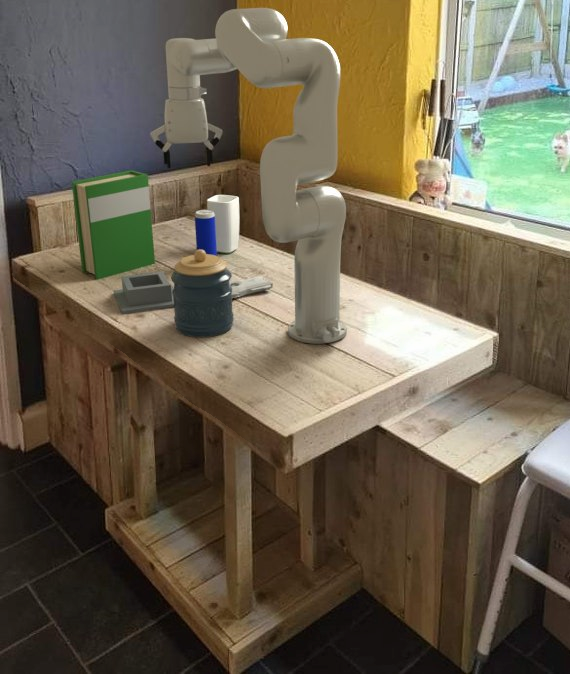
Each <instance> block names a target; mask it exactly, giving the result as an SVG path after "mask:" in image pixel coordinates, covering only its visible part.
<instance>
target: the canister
mask: <svg viewBox="0 0 570 674" xmlns="http://www.w3.org/2000/svg"><path fill="white" fill-rule="evenodd" d="M173 268H174V270H175V272H173V273H172V275H170V276H171V277H170V280H171V281H172V282H173V288H174V289H173V291H172V294H173V299H174V307H173V309H174V310H173V311H174V312H173V313H174V317H173V320H174V321H173V323H174V325H175V329H176V331H178V333H180V334H183V335H185V336H187V337H188V336H189V337H195V338H196V337H197V338H207V337H215V336H219V335H222V334H224V333H226V332H228V331H229V330H231V329H232V327H233V324H234V312H233V299H232V287H231V286H230V282H229V281H231V279H232V276H233V275H232V271H230V270H229V269H227V268H228V262H227V261H225V260H224V259H222V258H220V257H219V256H218V255H217V256H215V255H210V254H206V252H205V251H204V250H201V249H199V250H197V249H196V250H195V252H194V254H192V255H188V256H185V257H183V258H181V259H180V260H178V262H177V263H175V264H174V267H173Z"/></svg>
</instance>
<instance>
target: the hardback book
mask: <svg viewBox="0 0 570 674" xmlns="http://www.w3.org/2000/svg"><path fill="white" fill-rule="evenodd" d="M71 188H72V199H73V205H74V213H75V214H74V215H75V221H76V222H75V224H76V229H77V237H78V238H77V239H78V246H79V255H80V262H81V263H80V264H81V271H82V274H89V273H91V274H92V275H94V278H95V280H96V281H99V280H101V279H105V278H109V277H113V276H116V275H120V274H123V273H128V272H130V271H134V270H138V269H141V267H142V268H145V267H149V266H151V265H152V264H153V265H155V264H156V257H155V246H154V237H153V236H154V234H153V222H152V221H153V220H152V211H151V210H152V208H151V197H150V185H149V175H148V174H147V173H143V172H140V171H136V170H133V169H132V170H131V169H130V170H126V171H120V172H115V173H111V174H104V175H101V176H94V177H90V178H84V179H79V180H74V181H71Z"/></svg>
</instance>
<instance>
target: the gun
mask: <svg viewBox="0 0 570 674" xmlns="http://www.w3.org/2000/svg"><path fill="white" fill-rule="evenodd" d="M229 282H230V286H231V287H232V300H234V299H237V297H239V298H242V297H244V296H247V295H252V294H256V293H260V292H263V291H267V290H271V289H272V288H274V286H273V285H274V284H273V282H270V281H269V280H266V279H265V276H264V275H263V276H262V275H258V276H255V277H254V276H253V277H250V278H246V279H242V280H240V279H239V280H238V279H232V280H231V279H230V280H229ZM241 296H242V297H241ZM233 298H234V299H233Z"/></svg>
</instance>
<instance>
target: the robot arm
mask: <svg viewBox="0 0 570 674" xmlns="http://www.w3.org/2000/svg"><path fill="white" fill-rule="evenodd" d="M214 34H215V38H206V39H205V38H203V39H194V38H188V37H179V38H178V37H177V38H170V39H168V40H167V41H166V42H165V58H166V59H165V61H166V73H167V74H166V75H167V77H166V78H167V90H168V99H165V104H164V124H163V125H161V126H159V127H158V128H156V129H155V130H152V131H151V132H150V137H151V139H152V140H153V142H154V143H155V145H156V146H157V147H158V148H159V149H160V150H162V152H163V154H162V155H163V165H166V167H167V169H171V167H172V166H171V156H170V155H171V153H170V147H171V146H172V145H173V144H174V145H175V144H192V143H193V144H194V143H195V144H196V143H203V144H204V145H205V146H206V147H205V149H204V150H205V164H206V166H207V167H211V163H213V161H214V160H213V150H214V147H216V145H218V143H220V139H221V137H222V136H223V131H224V130H223V129H222V128H220V127H218V126H215V125H213V124H211V123H209V122H208V118H207V117H208V116H207V110H206V103H205V100H204V98H202V95H207V87H202V86H201V77H200V76H203V75H212V74H214V75H215V74H224V73H229V72H232V71H235V70H238V71H239V72H240V73H241V74H242V75H243V77H245V79H246V80H248V82H250V83H251V85H254V86H255V87H257V88H261V89H272V88H279V87H281V88H282V87H288V86H297V85H302V86H303V87H302V89H301V90H300V92H299V94H298V95H297V97H296V101H295V103H294V106H293V111H292V113H293V115H292V116H293V129H292V134H291V135H286V136H285V135H284V136H280V137H276V138H274V139H272V140H270V141H269V142H268V143H267V144H266V145H265V146H264V148H263V150H262V153H261V156H260V160H259V161H260V162H259V174H260V192H261V194H260V195H261V214H262V221H263V225H264V229H265V231H266V234H267V235H268V236H269V237H270V239H272V241H274V242H277V243H282V244H283V243H284V244H285V243H286V244H287V243H290V242H295V241H297V243H296V246H295V251H294V258H293V259H294V263H293V264H294V267H293V268H294V321H292V322H291V323H290V324H288V325H287V334H288V336H289V337H291V339H294V340H295V341H297V342H299V343H300V342H301V343H303V344H304V343H306V344H314V345H318V344H319V345H320V344H329V343H333V342H337V341H339V340H341V339H343V338H344V337H346V334H347V329H348V328H347V325H346V324H345V323H344V322H342V321H341V320H340V309H341V308H340V305H341V302H340V300H341V299H340V298H341V295H340V292H341V255H342V254H341V250H342V247H341V246H342V238H343V231H344V227H345V222H346V216H347V205H346V201H345V200H346V199H344V196H343V195H342V193H341V192H340V191H339V190H338V189H336V188H334V187H332V186H328V185H317V186H311V187H307V188H306V187H305V188H302V189H299V190H297V187H298V186H299V185H305V184H309V183H315V182H318V181H323V180H326V179H328V178H330V177H332V176H333V175H334V174H335V172H336V171H337V168H338V157H339V156H338V153H339V152H338V147H339V146H338V100H339V92H340V86H341V65H340V62H339V59H338V56H337V54H336V52H335V50H334V49H333V47H332V46H331V45H330V44H328V43H327V42H326V41H324V40H322V39H318V38H313V37H312V38H310V37H299V38H298V37H296V38H287V37H288V24H287V21H286V19H285V17H284V15H282V13H280V12H279V11H277V10H276V9H273V8H268V7H250V8H234V9H233V8H232V9H230V10H226V11H224V12H223V13H222V14H221V15H220V17H219V18H218V20H217V21H216V25H215V31H214ZM209 131H211V132H213V133H215V134H214V137H213V138H212V139H211V140H209ZM163 133H164V136H165V138H166V140H165V142H163V141H162V140H160V139H159V137H158V136H160V135H161V134H163Z"/></svg>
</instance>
